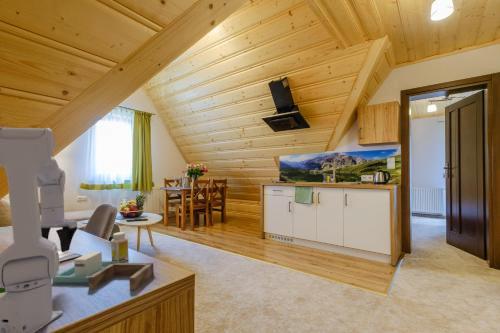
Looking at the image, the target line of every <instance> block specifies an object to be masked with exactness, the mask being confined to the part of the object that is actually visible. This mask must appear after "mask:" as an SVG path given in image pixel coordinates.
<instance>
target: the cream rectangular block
mask: <svg viewBox="0 0 500 333" xmlns="http://www.w3.org/2000/svg"><path fill="white" fill-rule="evenodd" d="M102 253H103V252H102V251H90V252H87V253H86V254H83V255H81V256H79V257H77V258H75V259H73V264H74V265H73V267H74V268H75V276H89V275H91V274H93V273H95V272H96V271H98V270H100V269H101V268H102V261H103V257H102V256H103V255H102Z"/></svg>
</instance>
